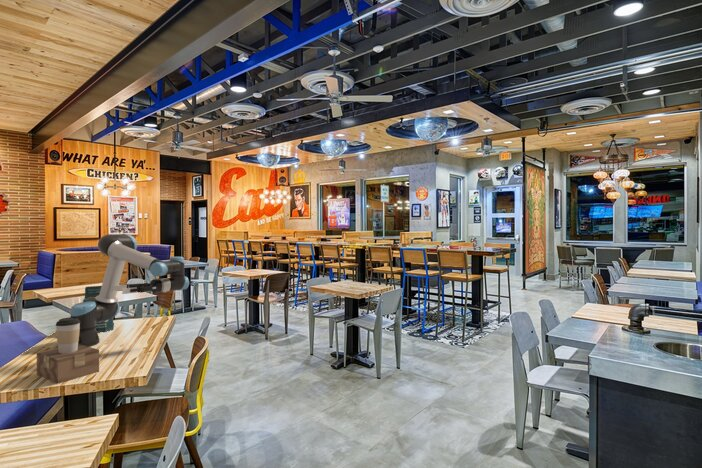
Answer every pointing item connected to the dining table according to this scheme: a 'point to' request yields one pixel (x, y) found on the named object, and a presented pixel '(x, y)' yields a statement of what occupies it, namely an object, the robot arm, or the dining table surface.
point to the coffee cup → (68, 334)
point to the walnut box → (67, 363)
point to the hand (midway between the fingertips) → (117, 290)
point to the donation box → (90, 296)
